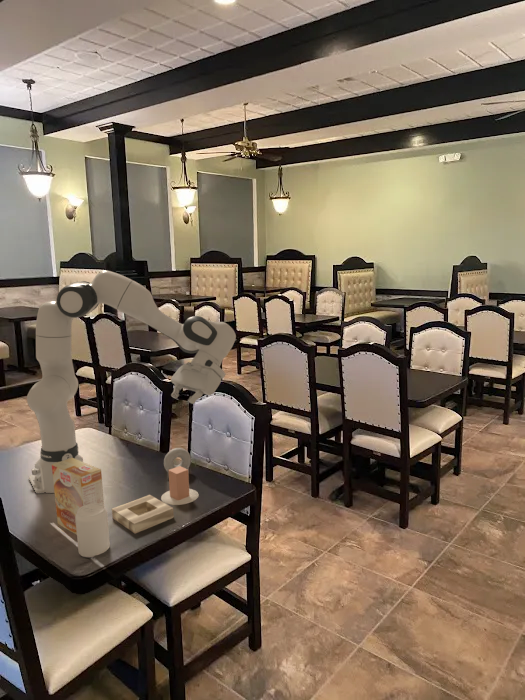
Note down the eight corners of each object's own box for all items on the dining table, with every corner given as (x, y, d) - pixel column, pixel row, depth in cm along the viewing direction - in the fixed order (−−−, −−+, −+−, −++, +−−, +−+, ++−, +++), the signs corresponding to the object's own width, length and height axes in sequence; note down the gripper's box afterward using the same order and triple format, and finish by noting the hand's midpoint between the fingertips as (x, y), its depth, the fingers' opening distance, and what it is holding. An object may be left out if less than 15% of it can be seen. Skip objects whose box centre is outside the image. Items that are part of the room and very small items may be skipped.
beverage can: (92, 562, 138) (89, 519, 136) (72, 554, 143) (68, 512, 141) (116, 547, 145) (113, 506, 143) (96, 540, 149) (92, 500, 147)
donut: (166, 479, 189) (164, 452, 187) (163, 475, 192) (161, 449, 190) (192, 473, 194) (191, 447, 192) (189, 470, 197) (188, 444, 195)
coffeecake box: (56, 526, 157) (50, 464, 154) (78, 517, 163) (72, 456, 159) (85, 543, 148) (79, 476, 144) (107, 532, 153) (102, 468, 150)
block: (169, 496, 173) (168, 470, 172) (181, 491, 176) (180, 466, 175) (177, 500, 170) (176, 473, 168) (189, 496, 173) (188, 469, 171)
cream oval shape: (154, 499, 174) (153, 496, 173) (184, 487, 182) (184, 485, 181) (175, 511, 165) (174, 508, 165) (206, 498, 173) (206, 495, 173)
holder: (112, 521, 160) (111, 508, 159) (150, 506, 169) (149, 494, 168) (135, 536, 151) (134, 523, 150) (173, 520, 159) (173, 508, 159)
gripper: (180, 356, 185) (158, 389, 180) (217, 364, 170) (194, 400, 165) (191, 367, 188) (169, 399, 184) (229, 375, 174) (206, 410, 169)
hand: (181, 399), depth 174 cm, fingers open, 8 cm apart
